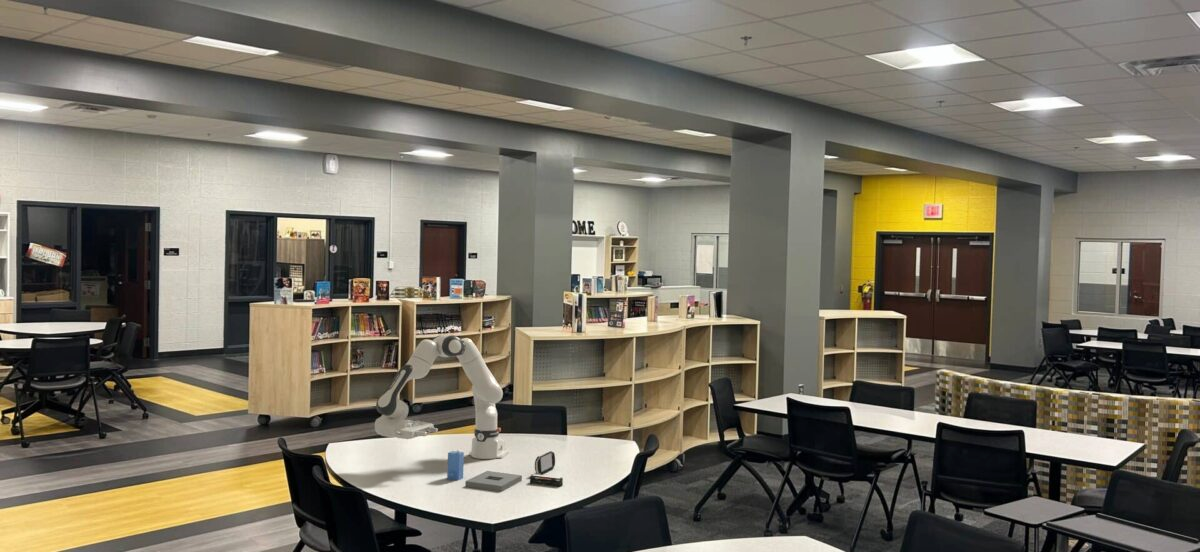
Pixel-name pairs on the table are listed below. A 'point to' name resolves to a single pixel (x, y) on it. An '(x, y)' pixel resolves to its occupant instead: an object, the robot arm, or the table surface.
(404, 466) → the table surface
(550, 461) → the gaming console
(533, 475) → the black flat block
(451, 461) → the blue rectangular block
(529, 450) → the table surface
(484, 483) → the plate
